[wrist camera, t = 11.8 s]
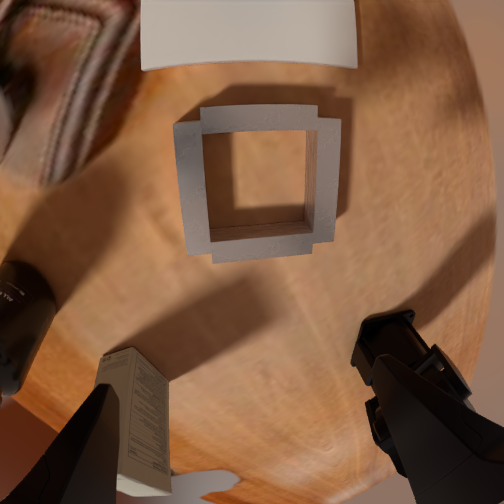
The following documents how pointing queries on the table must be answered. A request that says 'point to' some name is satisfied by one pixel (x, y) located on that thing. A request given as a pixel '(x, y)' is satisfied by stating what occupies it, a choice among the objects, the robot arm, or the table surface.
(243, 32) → the pad
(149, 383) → the skincare box
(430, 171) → the table surface
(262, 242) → the steel collar
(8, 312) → the supplement bottle
